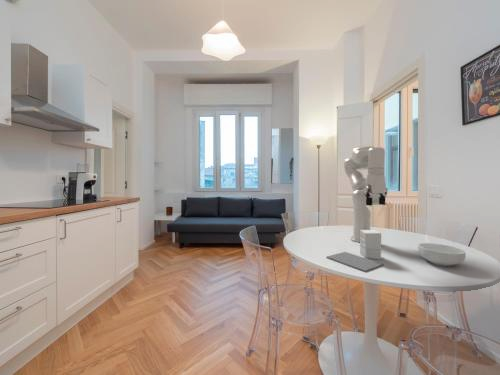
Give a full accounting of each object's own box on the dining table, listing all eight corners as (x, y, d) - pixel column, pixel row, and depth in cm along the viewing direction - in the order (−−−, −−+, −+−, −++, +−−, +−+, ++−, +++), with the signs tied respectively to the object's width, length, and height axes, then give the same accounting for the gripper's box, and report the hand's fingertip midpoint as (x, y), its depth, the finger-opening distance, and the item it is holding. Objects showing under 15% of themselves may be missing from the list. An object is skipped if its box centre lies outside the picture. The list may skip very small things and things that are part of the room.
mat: (344, 252, 120) (344, 251, 120) (383, 265, 103) (383, 263, 103) (326, 257, 113) (326, 256, 113) (365, 271, 96) (365, 270, 96)
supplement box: (374, 254, 118) (375, 229, 118) (381, 259, 111) (381, 233, 110) (359, 253, 119) (359, 229, 119) (365, 258, 112) (365, 232, 111)
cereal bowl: (475, 271, 96) (476, 255, 96) (430, 268, 100) (430, 252, 99) (449, 257, 113) (449, 243, 113) (411, 255, 116) (411, 241, 116)
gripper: (380, 172, 126) (380, 203, 127) (358, 171, 119) (357, 205, 119) (394, 171, 119) (393, 205, 120) (371, 171, 112) (370, 206, 113)
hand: (375, 205), depth 120 cm, fingers open, 9 cm apart
